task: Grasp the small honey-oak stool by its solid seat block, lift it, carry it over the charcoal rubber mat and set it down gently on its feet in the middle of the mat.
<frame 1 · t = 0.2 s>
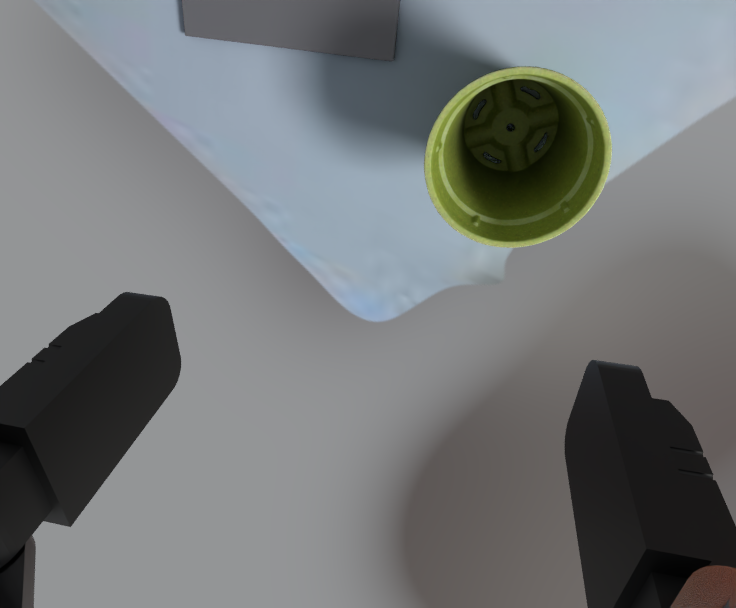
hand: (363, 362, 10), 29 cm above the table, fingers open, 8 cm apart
plant pot: (508, 124, 35), on the table
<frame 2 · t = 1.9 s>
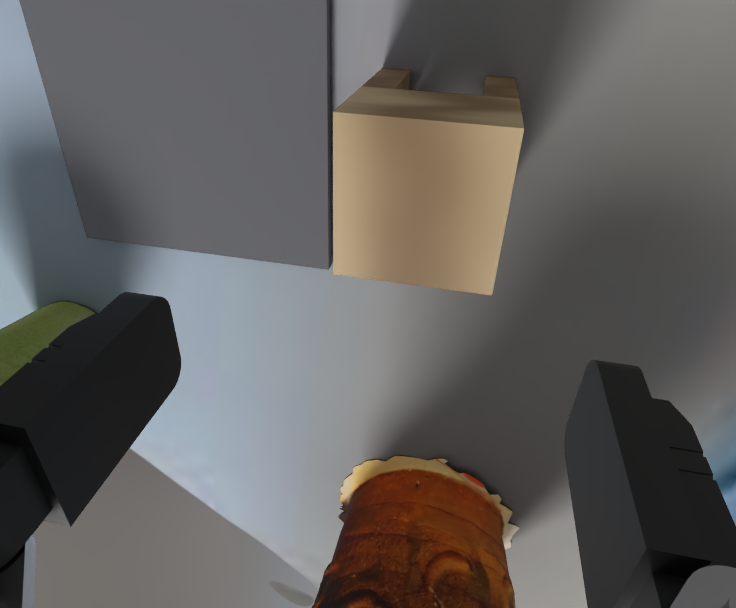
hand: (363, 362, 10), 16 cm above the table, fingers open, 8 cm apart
plant pot: (84, 336, 35), on the table
vessel: (427, 519, 38), on the table
mat: (187, 117, 25), on the table
stool: (440, 140, 23), on the table
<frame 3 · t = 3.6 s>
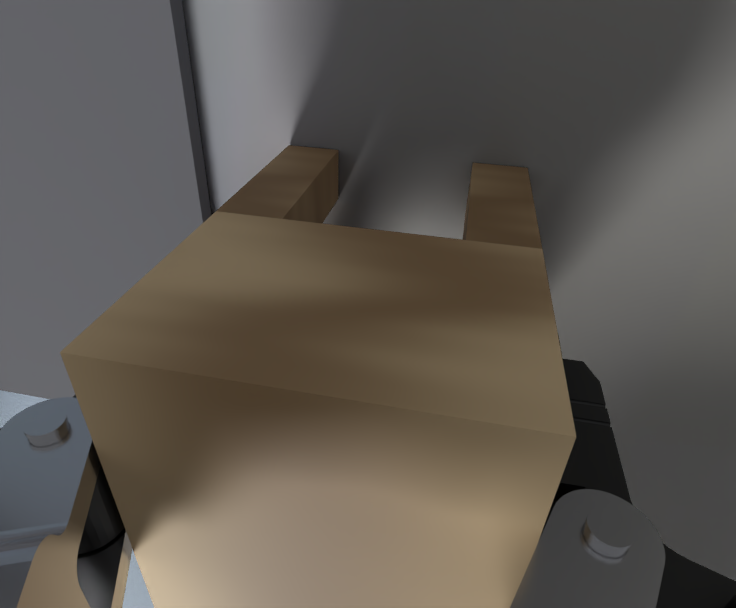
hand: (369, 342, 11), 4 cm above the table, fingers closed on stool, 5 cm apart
stool: (396, 261, 13), on the table, touching gripper
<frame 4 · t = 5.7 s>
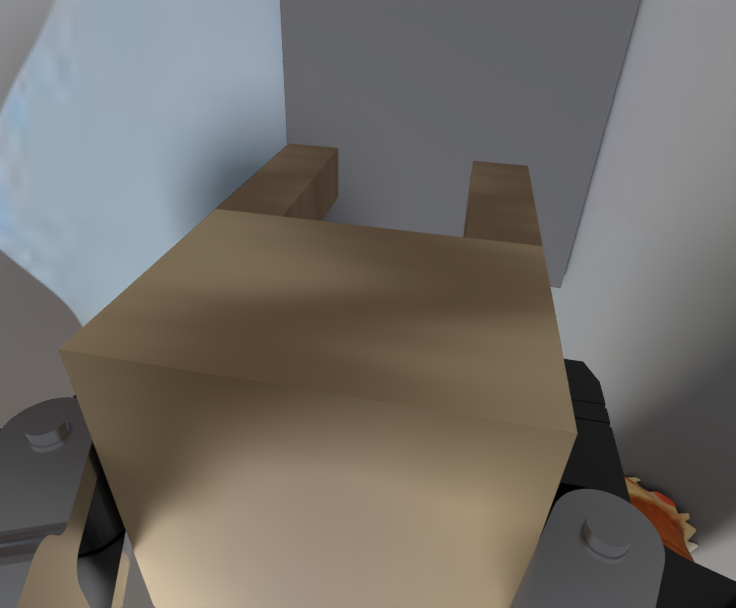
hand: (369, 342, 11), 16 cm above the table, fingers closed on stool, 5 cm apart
vessel: (595, 536, 37), on the table
mat: (436, 131, 24), on the table
stool: (396, 260, 13), point 13 cm above the table, touching gripper
when the fingers open (5 cm above the table, at t = 8.2 s): stool stays where it is, resting on mat.
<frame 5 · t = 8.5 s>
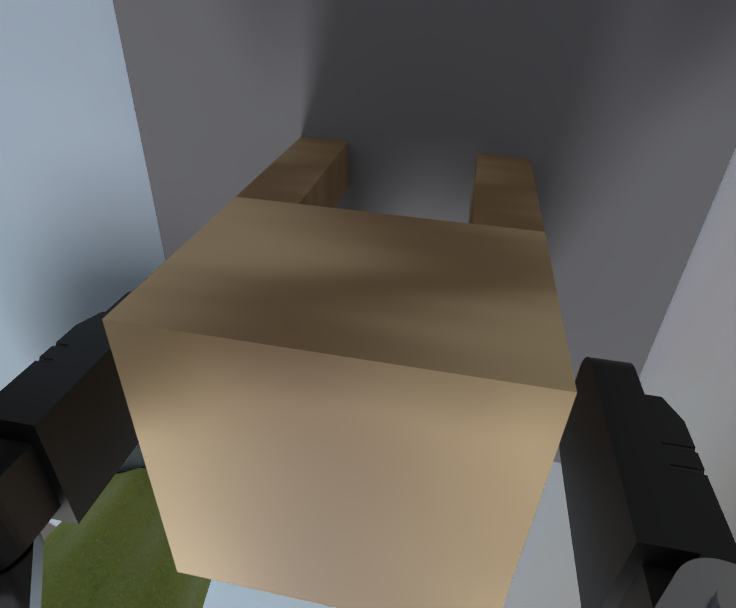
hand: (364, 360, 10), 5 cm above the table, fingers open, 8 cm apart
plant pot: (166, 504, 24), on the table
mat: (401, 241, 14), on the table
stool: (403, 250, 14), resting on mat
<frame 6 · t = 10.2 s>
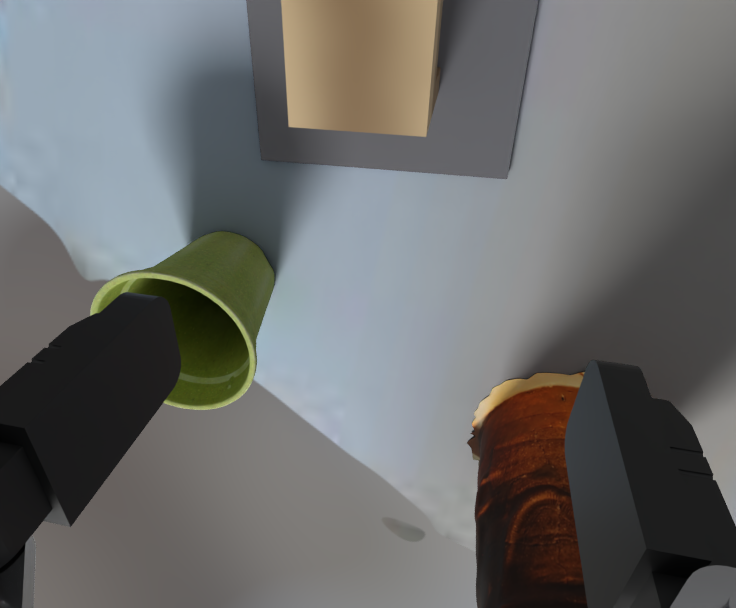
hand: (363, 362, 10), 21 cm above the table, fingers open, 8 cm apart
plant pot: (233, 268, 36), on the table
vessel: (556, 439, 39), on the table
mat: (386, 28, 26), on the table
stool: (387, 29, 26), resting on mat
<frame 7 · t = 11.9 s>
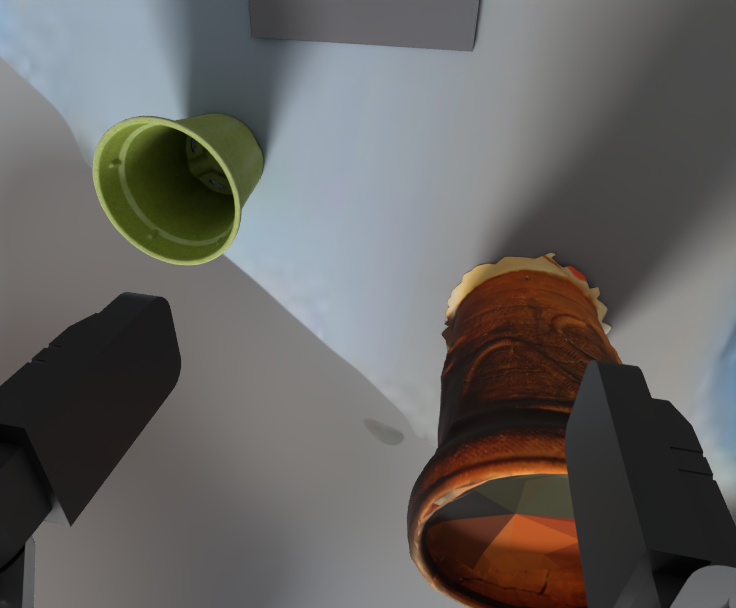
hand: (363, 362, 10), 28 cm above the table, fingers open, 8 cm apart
plant pot: (226, 153, 39), on the table
vessel: (524, 329, 42), on the table
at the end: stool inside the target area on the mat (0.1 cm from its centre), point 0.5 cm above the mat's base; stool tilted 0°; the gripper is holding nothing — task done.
